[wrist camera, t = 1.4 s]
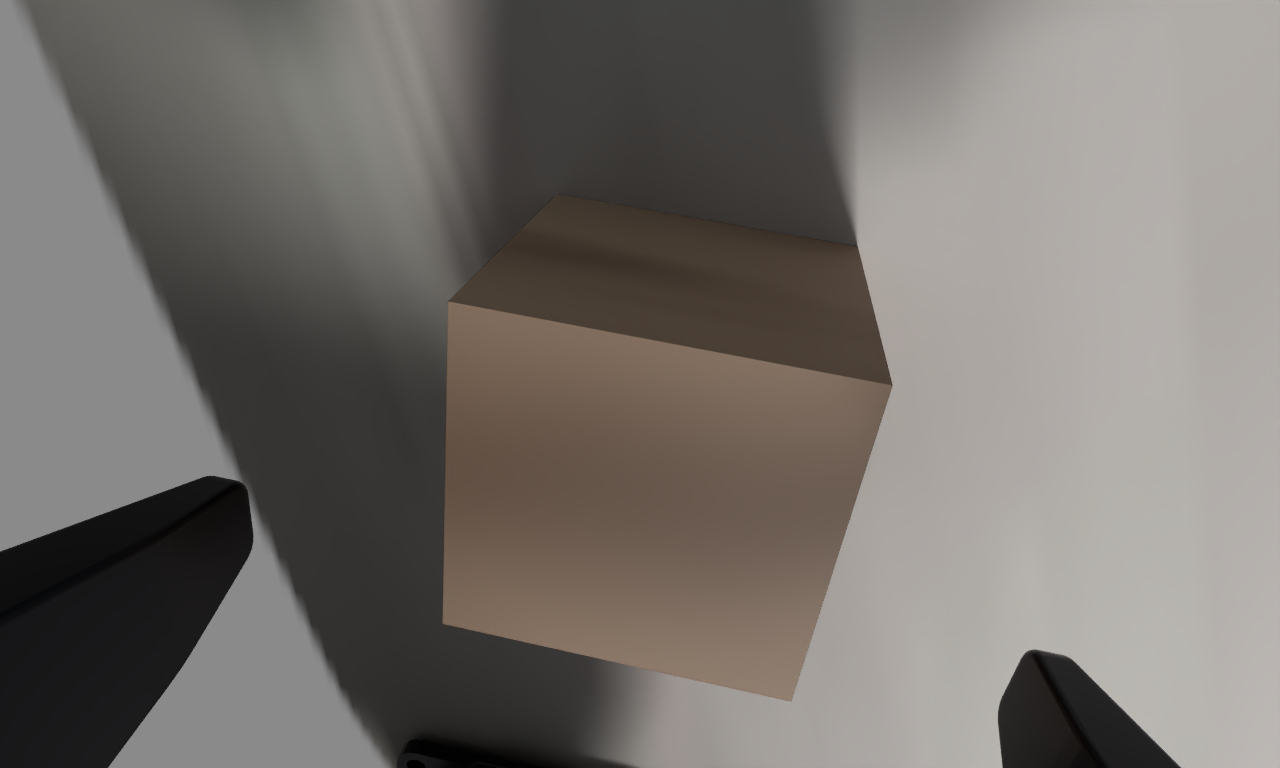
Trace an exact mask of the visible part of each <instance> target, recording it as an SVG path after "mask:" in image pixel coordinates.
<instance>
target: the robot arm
mask: <svg viewBox="0 0 1280 768" xmlns="http://www.w3.org/2000/svg"><path fill="white" fill-rule="evenodd" d="M252 545H253V529H252V521H251V513H250V505H249V497H248V491H247V489H246V487H245V485H244V484H243V483H241V482H239V481H235V480H231V479H225V478H221V477H216V476H206V477H203V478H200V479H197V480H195V481H192V482H189V483H186V484H183V485H181V486H178V487H175V488H173V489H170V490H167V491H165V492H162V493H159V494H156V495H153V496H151V497H148V498H145V499H143V500H140V501H137V502H134V503H132V504H129V505H126V506H123V507H121V508H118V509H115V510H113V511H110V512H107V513H104V514H102V515H99V516H96V517H94V518H91V519H88V520H85V521H83V522H80V523H77V524H74V525H72V526H69V527H66V528H64V529H61V530H58V531H55V532H52V533H50V534H47V535H44V536H42V537H39V538H36V539H33V540H31V541H28V542H25V543H23V544H20V545H17V546H14V547H12V548H9V549H6V550H3V551H1V552H0V768H108V767H109V765H110V764H111V763H112V761H113V760H114V759H115V757H116V756H117V755H118V753H119V752H120V751H121V749H122V748H123V746H124V745H125V744H126V743H127V741H128V740H129V739H130V737H131V736H132V735H133V733H134V732H135V730H136V729H137V728H138V726H139V725H140V723H141V722H142V721H143V720H144V718H145V717H146V715H147V714H148V713H149V712H150V710H151V709H152V707H153V706H154V705H155V704H156V702H157V701H158V699H159V698H160V697H161V696H162V694H163V693H164V692H165V690H166V689H167V687H168V686H169V685H170V683H171V682H172V680H173V679H174V678H175V676H176V675H177V673H178V672H179V671H180V669H181V668H182V666H183V665H184V663H185V661H186V660H187V658H188V657H189V655H190V654H191V652H192V651H193V649H194V647H195V646H196V644H197V642H198V640H199V639H200V637H201V635H202V634H203V632H204V630H205V629H206V627H207V625H208V624H209V622H210V621H211V619H212V617H213V616H214V614H215V612H216V611H217V609H218V607H219V605H220V604H221V602H222V600H223V599H224V597H225V595H226V594H227V592H228V590H229V589H230V587H231V585H232V584H233V582H234V580H235V579H236V577H237V575H238V574H239V572H240V570H241V569H242V567H243V565H244V563H245V562H246V560H247V558H248V557H249V554H250V552H251V549H252ZM998 727H999V736H1000V746H1001V756H1002V765H1003V768H1181V767H1180V766H1179V765H1178V764H1177V763H1176V762H1175V761H1174V760H1173V759H1172V758H1171V757H1170V756H1169V755H1168V754H1167V753H1166V752H1165V751H1164V750H1163V749H1162V748H1161V747H1160V746H1159V745H1158V744H1157V743H1156V742H1155V741H1154V740H1153V739H1152V738H1151V737H1150V736H1149V735H1148V734H1147V733H1146V732H1145V731H1144V730H1143V729H1142V728H1141V727H1140V726H1139V725H1138V724H1137V723H1136V722H1135V721H1134V720H1133V719H1132V718H1131V717H1130V716H1129V715H1128V714H1127V713H1126V712H1125V711H1124V710H1123V709H1122V708H1120V707H1119V706H1118V705H1117V704H1116V703H1115V702H1114V701H1113V700H1112V699H1111V698H1110V697H1109V696H1108V695H1107V694H1106V693H1105V692H1104V691H1103V690H1102V689H1101V688H1100V687H1099V686H1098V685H1097V684H1096V683H1095V682H1094V681H1093V680H1092V679H1091V678H1090V677H1089V676H1088V675H1087V674H1086V673H1085V672H1084V671H1083V670H1082V669H1081V668H1080V667H1079V666H1078V665H1077V664H1076V663H1075V662H1074V661H1073V660H1072V659H1070V658H1069V657H1066V656H1064V655H1059V654H1055V653H1050V652H1045V651H1040V650H1030V651H1027V652H1026V653H1025V654H1024V655H1023V657H1022V658H1021V660H1020V662H1019V664H1018V666H1017V668H1016V670H1015V672H1014V674H1013V676H1012V678H1011V680H1010V682H1009V684H1008V686H1007V688H1006V690H1005V692H1004V694H1003V696H1002V699H1001V701H1000V705H999V711H998ZM397 768H541V767H536V766H532V765H528V764H523V763H519V762H515V761H511V760H506V759H502V758H498V757H494V756H489V755H485V754H481V753H476V752H472V751H468V750H464V749H459V748H455V747H451V746H447V745H442V744H438V743H434V742H430V741H425V740H419V739H414V740H410V741H408V742H407V743H406V744H405V745H404V747H403V749H402V752H401V754H400V756H399V758H398V761H397Z"/></svg>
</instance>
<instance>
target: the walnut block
mask: <svg viewBox="0 0 1280 768" xmlns="http://www.w3.org/2000/svg"><path fill="white" fill-rule="evenodd" d="M892 386H893V385H892V381H891V377H890V373H889V369H888V365H887V361H886V357H885V353H884V350H883V346H882V342H881V338H880V334H879V330H878V326H877V322H876V318H875V314H874V310H873V306H872V302H871V298H870V294H869V290H868V286H867V282H866V278H865V274H864V270H863V266H862V262H861V258H860V254H859V250H858V246H852V245H846V244H840V243H835V242H829V241H823V240H818V239H812V238H806V237H801V236H795V235H789V234H783V233H778V232H772V231H766V230H761V229H755V228H749V227H744V226H738V225H732V224H726V223H721V222H715V221H709V220H704V219H698V218H692V217H686V216H681V215H675V214H669V213H664V212H658V211H652V210H647V209H641V208H635V207H629V206H624V205H618V204H612V203H607V202H601V201H595V200H590V199H584V198H578V197H572V196H567V195H561V194H557V195H556V196H555V197H554V198H553V199H552V200H551V201H550V202H549V203H548V204H547V205H546V206H545V207H544V208H543V209H541V210H540V211H539V212H538V213H537V214H536V215H535V216H534V217H533V218H532V219H531V220H530V221H529V222H528V223H527V224H526V225H525V226H524V227H523V228H522V229H521V230H520V231H519V232H518V233H517V234H516V235H515V236H514V237H513V238H512V239H511V240H510V241H509V242H508V243H507V244H506V245H505V246H504V247H503V248H502V249H501V250H500V251H499V252H498V253H497V254H496V255H495V256H494V257H493V258H492V259H491V260H490V261H489V262H488V263H487V264H486V265H485V266H484V267H483V268H482V269H481V270H480V271H479V272H478V273H476V274H475V275H474V276H473V277H472V278H471V279H470V280H469V281H468V282H467V283H466V284H465V285H464V286H463V287H462V288H461V289H460V290H459V291H458V292H457V293H456V294H455V295H454V296H453V297H452V298H451V299H450V300H449V301H448V337H447V396H446V455H445V515H444V574H443V624H446V625H450V626H455V627H459V628H464V629H468V630H473V631H477V632H482V633H486V634H491V635H495V636H500V637H504V638H509V639H513V640H518V641H522V642H527V643H531V644H536V645H540V646H545V647H549V648H553V649H558V650H562V651H567V652H571V653H576V654H580V655H585V656H589V657H594V658H598V659H603V660H607V661H612V662H616V663H621V664H625V665H630V666H634V667H639V668H643V669H648V670H652V671H656V672H661V673H665V674H670V675H674V676H679V677H683V678H688V679H692V680H697V681H701V682H706V683H710V684H715V685H719V686H724V687H728V688H733V689H737V690H742V691H746V692H750V693H755V694H759V695H764V696H768V697H773V698H777V699H782V700H786V701H792V697H793V694H794V691H795V688H796V685H797V682H798V679H799V676H800V672H801V669H802V666H803V663H804V660H805V657H806V654H807V651H808V648H809V644H810V641H811V638H812V635H813V632H814V629H815V626H816V623H817V619H818V616H819V613H820V610H821V607H822V604H823V601H824V598H825V595H826V591H827V588H828V585H829V582H830V579H831V576H832V573H833V570H834V566H835V563H836V560H837V557H838V554H839V551H840V548H841V545H842V542H843V538H844V535H845V532H846V529H847V526H848V523H849V520H850V517H851V513H852V510H853V507H854V504H855V501H856V498H857V495H858V492H859V489H860V485H861V482H862V479H863V476H864V473H865V470H866V467H867V464H868V460H869V457H870V454H871V451H872V448H873V445H874V442H875V439H876V436H877V432H878V429H879V426H880V423H881V420H882V417H883V414H884V411H885V407H886V404H887V401H888V398H889V395H890V392H891V389H892Z"/></svg>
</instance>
